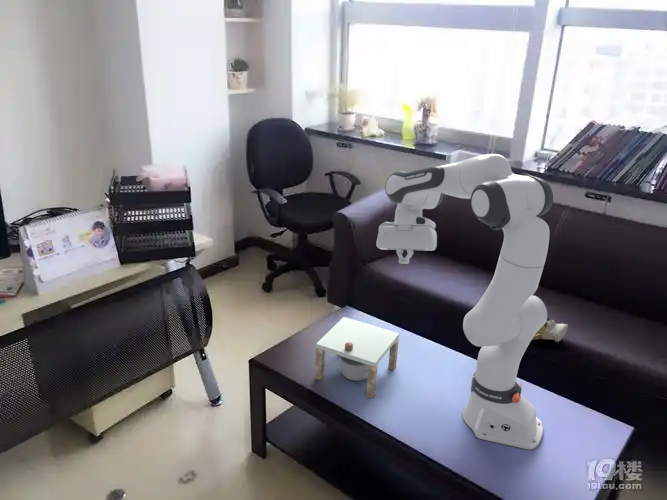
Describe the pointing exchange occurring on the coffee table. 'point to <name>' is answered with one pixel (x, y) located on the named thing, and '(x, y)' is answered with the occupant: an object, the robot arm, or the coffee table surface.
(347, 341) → the lid
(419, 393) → the coffee table surface
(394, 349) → the stand
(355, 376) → the teacup
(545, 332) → the ceramic sculpture
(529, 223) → the robot arm
